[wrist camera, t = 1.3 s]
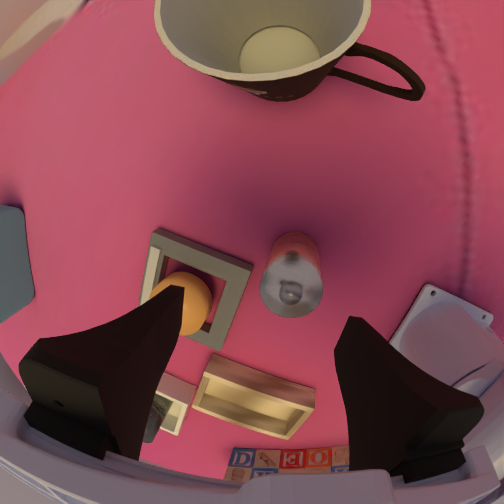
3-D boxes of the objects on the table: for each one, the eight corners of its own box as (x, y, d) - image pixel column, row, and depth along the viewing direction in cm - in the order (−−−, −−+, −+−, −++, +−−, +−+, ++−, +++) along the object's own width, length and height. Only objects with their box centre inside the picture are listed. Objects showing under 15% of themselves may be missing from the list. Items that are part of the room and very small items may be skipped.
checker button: (219, 285, 21) (211, 297, 19) (204, 329, 23) (196, 344, 21) (165, 262, 21) (153, 272, 20) (156, 308, 23) (145, 320, 21)
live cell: (325, 242, 20) (334, 279, 14) (307, 282, 22) (307, 330, 16) (281, 224, 21) (271, 254, 14) (265, 265, 22) (249, 309, 16)
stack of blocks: (242, 468, 32) (223, 539, 21) (232, 446, 31) (208, 526, 19) (396, 459, 28) (404, 532, 16) (404, 435, 26) (419, 519, 14)
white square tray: (196, 386, 27) (187, 404, 25) (185, 419, 30) (177, 436, 27) (136, 358, 28) (124, 374, 25) (132, 394, 30) (122, 409, 28)
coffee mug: (196, 57, 17) (122, 4, 8) (288, -6, 15) (272, -90, 5) (296, 176, 19) (289, 196, 10) (393, 109, 16) (463, 78, 7)
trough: (315, 389, 25) (314, 408, 22) (290, 421, 27) (288, 440, 25) (212, 353, 25) (204, 371, 23) (199, 390, 27) (191, 407, 25)
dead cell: (176, 392, 28) (152, 436, 22) (171, 408, 29) (149, 450, 23) (147, 379, 28) (120, 420, 22) (145, 396, 29) (120, 435, 23)
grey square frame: (253, 265, 22) (250, 273, 20) (223, 343, 25) (219, 353, 23) (159, 227, 22) (150, 232, 21) (143, 307, 25) (135, 315, 24)
